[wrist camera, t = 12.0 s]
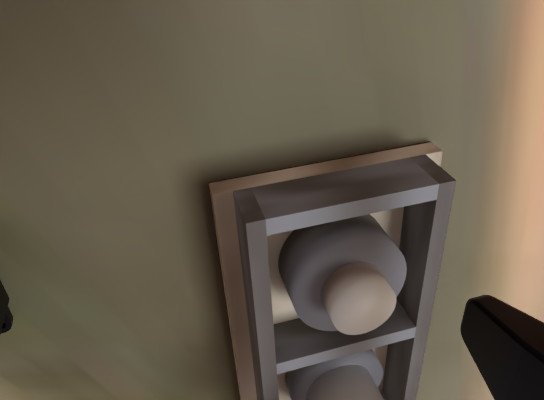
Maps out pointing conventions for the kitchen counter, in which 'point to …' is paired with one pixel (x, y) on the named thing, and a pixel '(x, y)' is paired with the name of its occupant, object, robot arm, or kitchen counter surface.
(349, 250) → the grey compartment tray
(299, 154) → the kitchen counter surface
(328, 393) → the white bulb
